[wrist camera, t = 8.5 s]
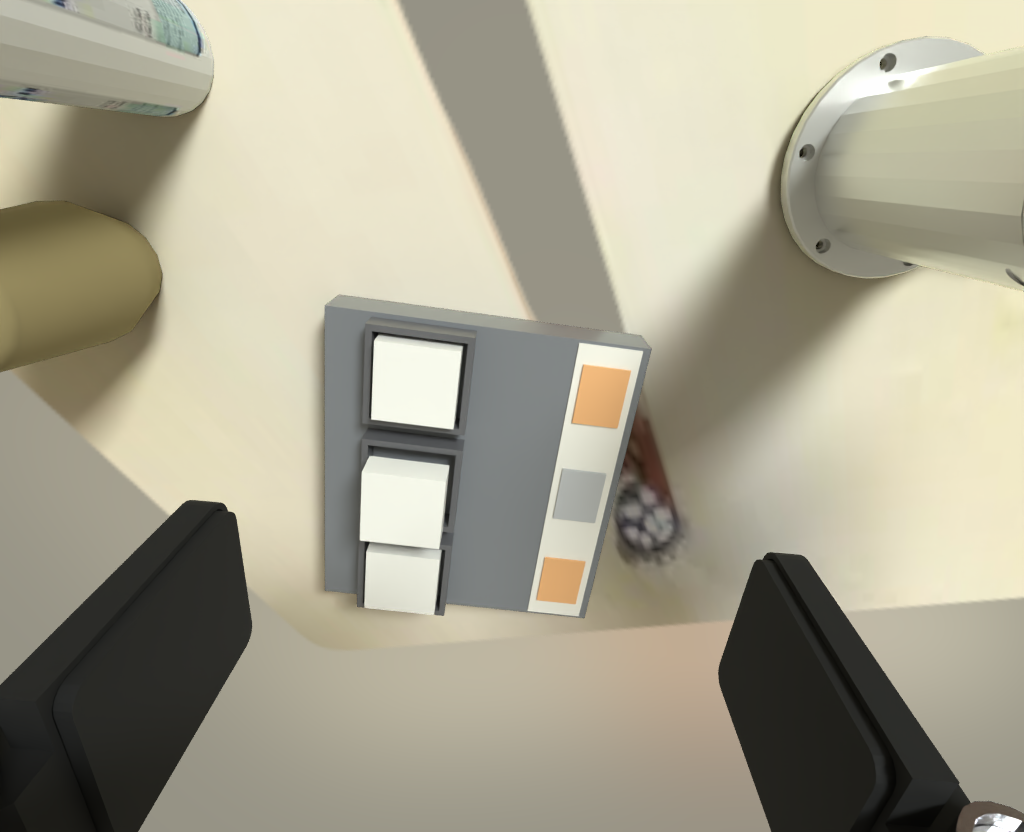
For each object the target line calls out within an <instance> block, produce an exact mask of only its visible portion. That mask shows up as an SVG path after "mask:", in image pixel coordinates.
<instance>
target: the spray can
mask: <svg viewBox="0 0 1024 832" xmlns="http://www.w3.org/2000/svg"><path fill="white" fill-rule="evenodd" d="M213 77H214V58H213V53H212V49H211V44H210V41H209V39H208V37H207V34H206V32H205V30H204V27H203V26H202V24H201V23H200V21H199V20H198V18H197V17H196V16H195V14H194V13H193V11H192V10H191V9H190V8H189V7H188V6H187V5H185V4H184V3H183V2H182V1H181V0H0V97H2V98H11V99H19V100H27V101H36V102H44V103H52V104H61V105H69V106H77V107H86V108H94V109H102V110H111V111H119V112H127V113H136V114H144V115H153V116H160V117H168V116H178V115H182V114H184V113H187V112H190V111H192V110H194V109H195V108H196V107H197V106H198V105H200V104H201V103H202V102H203V100H204V99H205V97H206V96H207V94H208V92H209V91H210V88H211V84H212V80H213Z"/></svg>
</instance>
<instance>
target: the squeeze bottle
mask: <svg viewBox="0 0 1024 832" xmlns="http://www.w3.org/2000/svg"><path fill="white" fill-rule="evenodd" d="M161 278H162V271H161V268H160V264H159V260H158V256H157V254H156V253H155V251H154V250H153V248H152V247H151V245H150V244H149V242H148V241H147V239H146V238H145V237H144V236H143V235H142V234H140V233H139V232H138V231H137V230H135V229H134V228H133V227H132V226H130V225H129V224H128V223H125V222H122V221H120V220H117V219H114V218H112V217H109V216H106V215H103V214H101V213H98V212H95V211H92V210H89V209H86V208H84V207H81V206H78V205H75V204H72V203H70V202H67V201H36V202H31V203H27V204H22V205H18V206H14V207H9V208H5V209H1V210H0V372H3V371H6V370H10V369H14V368H17V367H21V366H24V365H28V364H31V363H35V362H39V361H42V360H46V359H49V358H53V357H57V356H60V355H64V354H67V353H71V352H75V351H78V350H82V349H85V348H89V347H92V346H96V345H100V344H103V343H107V342H110V341H113V340H115V339H117V338H119V337H121V336H123V335H125V334H127V333H129V332H131V331H132V330H133V329H134V327H135V326H136V324H137V323H138V321H139V320H140V319H141V317H142V316H143V314H144V313H145V311H146V310H147V308H148V307H149V306H150V304H151V303H152V301H153V300H154V298H155V297H156V295H157V294H158V292H159V291H160V286H161Z"/></svg>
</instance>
